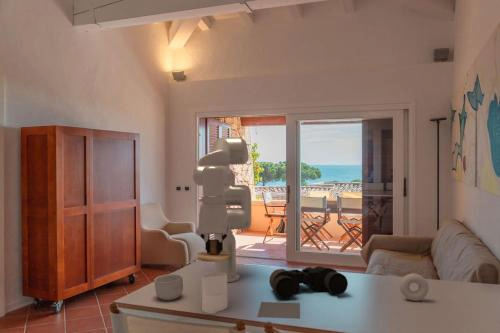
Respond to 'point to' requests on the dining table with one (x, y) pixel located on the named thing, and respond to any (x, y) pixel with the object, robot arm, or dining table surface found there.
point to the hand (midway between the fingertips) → (214, 252)
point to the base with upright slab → (214, 292)
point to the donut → (414, 294)
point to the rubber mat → (279, 310)
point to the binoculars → (307, 281)
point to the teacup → (169, 286)
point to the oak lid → (213, 253)
